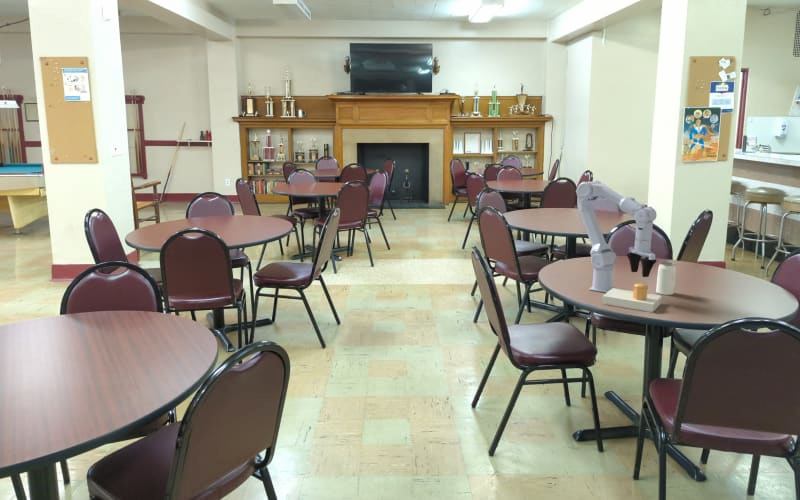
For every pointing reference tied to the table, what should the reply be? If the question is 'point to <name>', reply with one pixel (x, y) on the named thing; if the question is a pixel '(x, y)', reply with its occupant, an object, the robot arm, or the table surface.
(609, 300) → the junction box
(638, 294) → the cap
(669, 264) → the can
